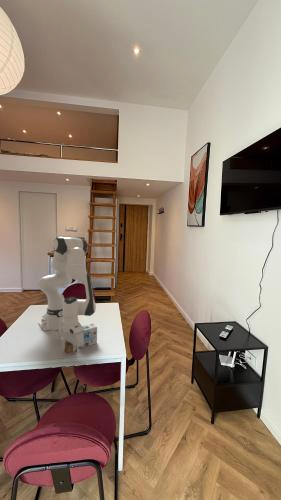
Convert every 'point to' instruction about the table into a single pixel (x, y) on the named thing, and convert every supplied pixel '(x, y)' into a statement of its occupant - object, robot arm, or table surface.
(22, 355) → the table surface
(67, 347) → the walnut cube
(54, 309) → the robot arm
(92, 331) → the light bulb box
